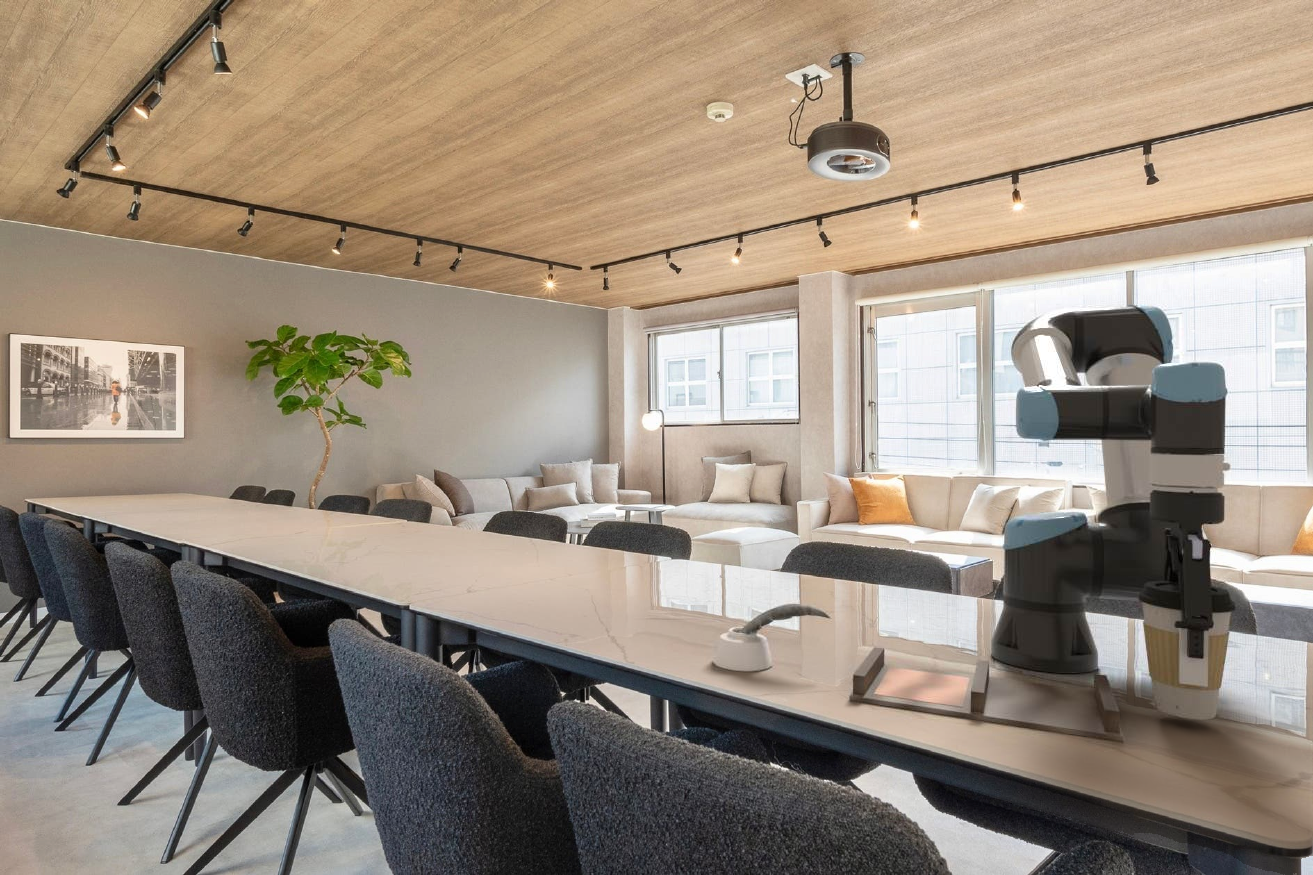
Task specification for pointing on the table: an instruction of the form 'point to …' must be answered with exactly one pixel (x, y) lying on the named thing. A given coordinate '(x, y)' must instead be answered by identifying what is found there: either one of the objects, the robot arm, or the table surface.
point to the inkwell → (755, 639)
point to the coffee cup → (1164, 650)
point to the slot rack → (990, 697)
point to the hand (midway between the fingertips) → (1184, 671)
